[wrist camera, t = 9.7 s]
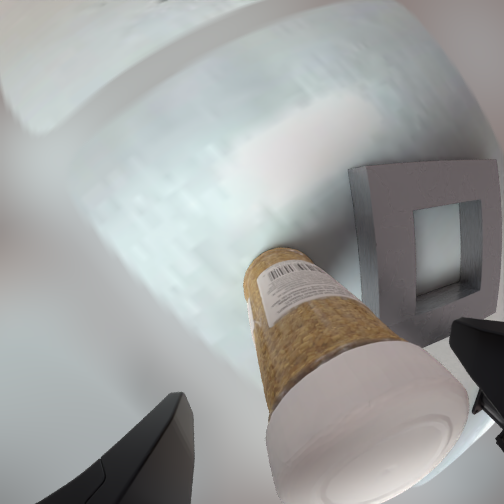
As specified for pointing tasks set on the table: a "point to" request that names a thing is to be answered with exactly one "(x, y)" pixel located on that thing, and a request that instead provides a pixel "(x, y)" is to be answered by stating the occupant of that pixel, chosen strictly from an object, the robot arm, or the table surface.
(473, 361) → the robot arm
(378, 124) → the table surface
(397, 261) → the metal collar
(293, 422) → the sprinkles bottle
